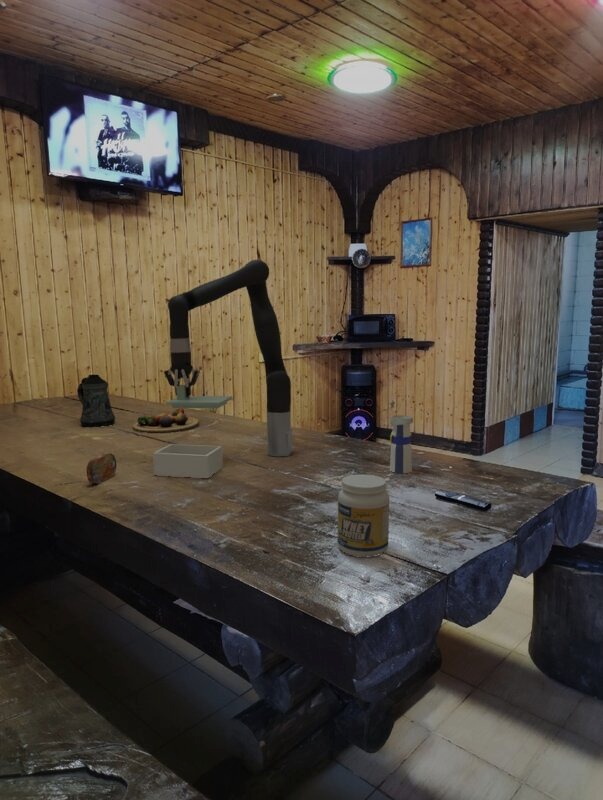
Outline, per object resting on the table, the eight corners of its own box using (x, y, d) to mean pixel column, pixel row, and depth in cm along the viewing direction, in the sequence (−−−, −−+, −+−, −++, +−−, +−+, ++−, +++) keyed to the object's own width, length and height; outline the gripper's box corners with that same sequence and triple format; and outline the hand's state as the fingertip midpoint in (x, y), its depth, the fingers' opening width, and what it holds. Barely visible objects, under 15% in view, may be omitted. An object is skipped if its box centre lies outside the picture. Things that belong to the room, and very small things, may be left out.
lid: (232, 402, 218) (231, 383, 217) (220, 409, 205) (219, 388, 203) (182, 402, 222) (181, 383, 221) (166, 408, 208) (165, 388, 207)
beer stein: (108, 428, 279) (105, 377, 275) (69, 428, 279) (65, 377, 275) (119, 421, 296) (117, 373, 292) (82, 421, 296) (79, 373, 292)
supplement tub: (330, 555, 134) (330, 485, 131) (345, 535, 145) (345, 471, 142) (382, 562, 129) (383, 490, 127) (393, 542, 141) (394, 475, 138)
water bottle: (386, 473, 199) (387, 402, 195) (391, 466, 207) (392, 398, 203) (409, 475, 196) (411, 403, 192) (413, 468, 204) (415, 399, 200)
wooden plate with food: (168, 418, 304) (167, 403, 303) (212, 424, 286) (211, 407, 285) (118, 430, 278) (117, 413, 277) (163, 437, 260) (162, 419, 259)
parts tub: (222, 467, 208) (222, 446, 206) (208, 478, 194) (207, 456, 193) (171, 464, 212) (170, 443, 211) (154, 475, 199) (152, 453, 197)
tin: (94, 487, 187) (92, 462, 185) (85, 486, 187) (83, 461, 186) (117, 474, 201) (116, 450, 200) (109, 473, 202) (108, 450, 201)
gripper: (202, 349, 214) (204, 395, 216) (167, 350, 216) (169, 395, 219) (194, 351, 206) (197, 398, 209) (158, 351, 209) (161, 398, 212)
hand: (183, 396), depth 214 cm, fingers closed on lid, 3 cm apart
